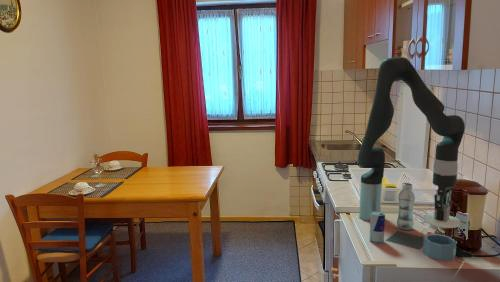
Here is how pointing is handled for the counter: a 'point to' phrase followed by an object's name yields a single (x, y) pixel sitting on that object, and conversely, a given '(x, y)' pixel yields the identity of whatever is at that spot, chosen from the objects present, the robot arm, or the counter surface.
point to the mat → (407, 239)
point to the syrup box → (463, 222)
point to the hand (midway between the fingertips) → (441, 218)
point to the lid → (447, 221)
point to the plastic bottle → (406, 207)
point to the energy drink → (377, 227)
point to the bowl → (439, 247)
